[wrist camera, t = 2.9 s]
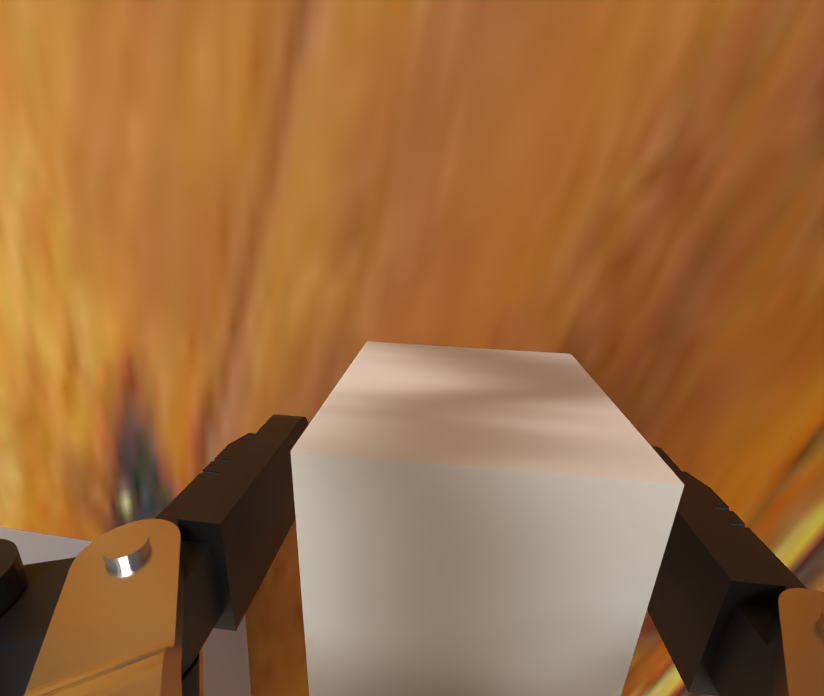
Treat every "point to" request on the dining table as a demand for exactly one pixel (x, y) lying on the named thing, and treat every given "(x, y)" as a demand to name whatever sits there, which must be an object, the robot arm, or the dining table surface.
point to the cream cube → (475, 527)
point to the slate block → (220, 651)
